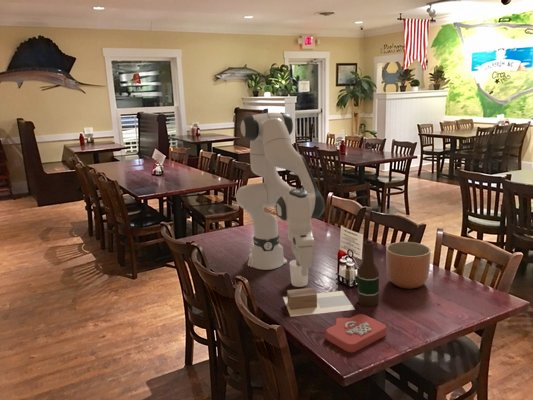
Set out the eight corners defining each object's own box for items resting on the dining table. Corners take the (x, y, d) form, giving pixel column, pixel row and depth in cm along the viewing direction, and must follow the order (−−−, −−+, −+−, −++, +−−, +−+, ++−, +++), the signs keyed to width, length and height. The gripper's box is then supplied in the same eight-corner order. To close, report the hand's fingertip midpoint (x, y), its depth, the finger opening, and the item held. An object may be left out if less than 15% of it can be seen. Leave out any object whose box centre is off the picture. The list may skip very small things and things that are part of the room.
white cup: (286, 285, 189) (285, 263, 186) (298, 279, 194) (297, 257, 192) (301, 290, 184) (300, 267, 181) (312, 284, 189) (312, 261, 187)
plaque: (355, 308, 160) (389, 324, 148) (355, 318, 161) (388, 335, 149) (317, 325, 150) (351, 344, 138) (317, 335, 151) (351, 355, 139)
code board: (282, 298, 177) (282, 296, 177) (342, 292, 180) (342, 290, 180) (290, 318, 162) (290, 316, 162) (355, 311, 165) (355, 309, 165)
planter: (384, 274, 195) (385, 241, 192) (426, 276, 192) (427, 242, 188) (386, 291, 179) (387, 255, 175) (431, 293, 176) (433, 257, 172)
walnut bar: (287, 302, 172) (287, 290, 171) (313, 299, 174) (313, 287, 172) (290, 309, 167) (290, 297, 165) (317, 306, 168) (316, 294, 167)
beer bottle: (353, 300, 173) (353, 240, 168) (370, 295, 176) (370, 237, 171) (365, 308, 166) (365, 247, 161) (382, 304, 169) (383, 243, 164)
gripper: (286, 227, 173) (287, 261, 176) (297, 243, 153) (298, 281, 156) (302, 225, 174) (303, 259, 177) (315, 242, 154) (316, 280, 157)
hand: (301, 270), depth 166 cm, fingers open, 8 cm apart
